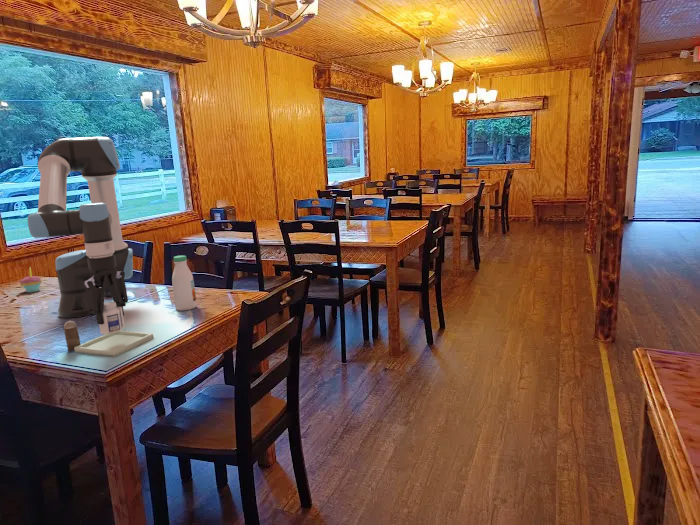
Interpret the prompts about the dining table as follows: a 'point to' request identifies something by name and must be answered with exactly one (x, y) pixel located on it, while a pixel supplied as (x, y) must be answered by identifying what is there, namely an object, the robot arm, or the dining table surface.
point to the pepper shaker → (71, 335)
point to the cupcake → (31, 283)
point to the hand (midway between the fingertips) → (112, 330)
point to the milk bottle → (183, 285)
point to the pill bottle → (113, 317)
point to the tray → (114, 343)
